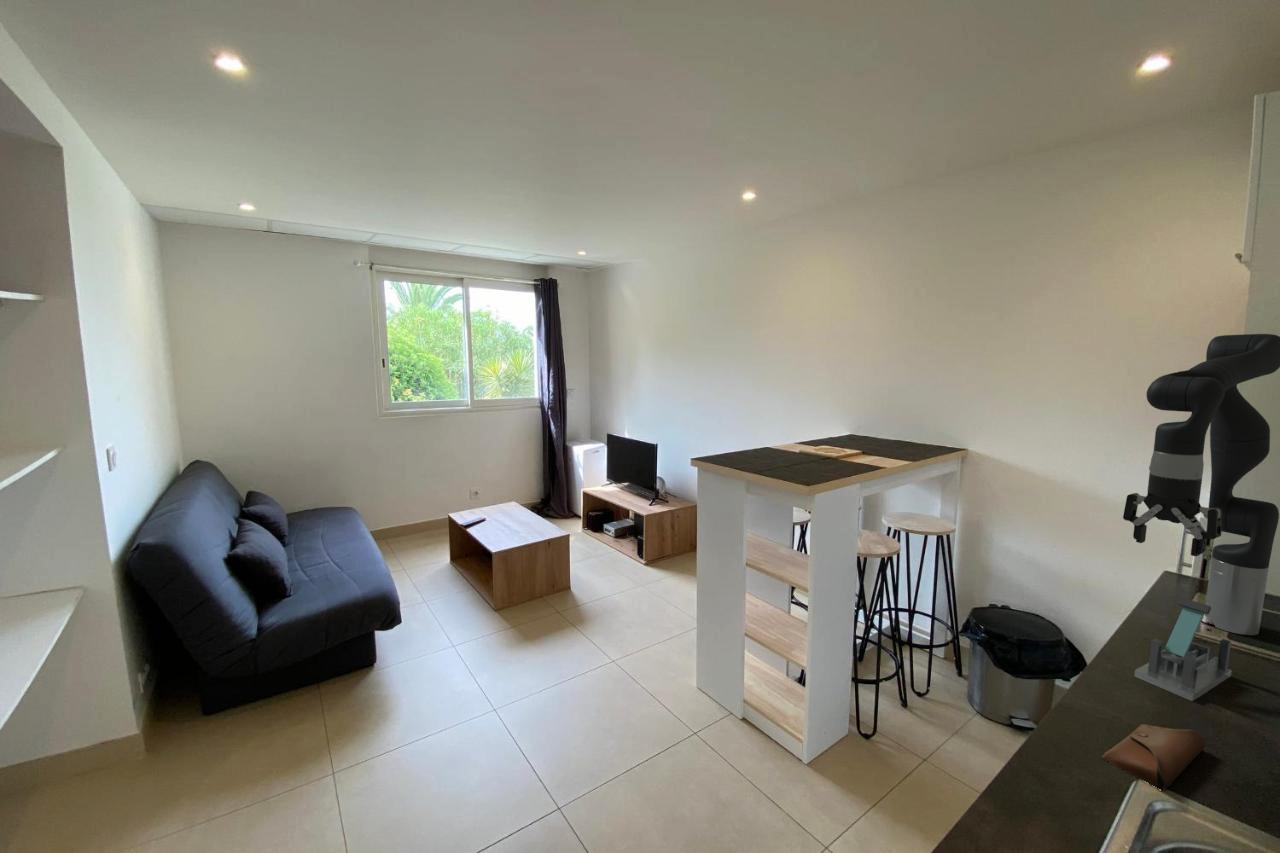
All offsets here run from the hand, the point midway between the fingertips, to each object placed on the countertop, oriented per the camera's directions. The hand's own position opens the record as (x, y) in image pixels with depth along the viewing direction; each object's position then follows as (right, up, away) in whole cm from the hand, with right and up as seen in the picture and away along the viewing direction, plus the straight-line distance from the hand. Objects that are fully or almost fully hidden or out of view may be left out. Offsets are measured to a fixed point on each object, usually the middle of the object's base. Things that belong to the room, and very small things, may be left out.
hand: (1166, 548), depth 107 cm
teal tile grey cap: (+5, -18, +1) cm, 19 cm away
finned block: (+6, -29, +3) cm, 29 cm away
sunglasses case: (-21, -33, -18) cm, 43 cm away
